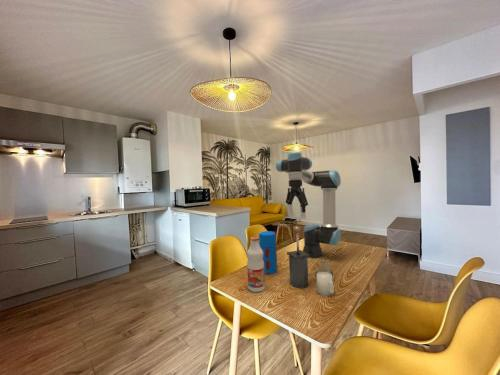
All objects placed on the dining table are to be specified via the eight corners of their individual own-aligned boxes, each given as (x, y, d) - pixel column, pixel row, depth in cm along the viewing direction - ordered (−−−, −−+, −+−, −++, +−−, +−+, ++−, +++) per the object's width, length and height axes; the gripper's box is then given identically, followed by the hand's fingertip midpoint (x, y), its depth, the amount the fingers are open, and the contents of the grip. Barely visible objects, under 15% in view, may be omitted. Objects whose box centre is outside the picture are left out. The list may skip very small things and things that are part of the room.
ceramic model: (333, 284, 114) (332, 266, 114) (312, 280, 120) (311, 263, 120) (336, 274, 127) (335, 258, 126) (317, 271, 132) (316, 255, 132)
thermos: (276, 275, 129) (274, 235, 128) (259, 274, 131) (257, 235, 130) (277, 268, 140) (276, 231, 139) (261, 267, 142) (260, 231, 141)
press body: (299, 276, 126) (298, 248, 126) (312, 285, 114) (311, 255, 114) (285, 279, 123) (284, 251, 122) (296, 289, 111) (295, 258, 110)
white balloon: (326, 287, 112) (325, 270, 112) (339, 296, 103) (338, 278, 103) (314, 289, 110) (313, 273, 110) (326, 299, 100) (326, 281, 100)
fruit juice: (268, 287, 114) (266, 237, 113) (256, 294, 108) (254, 241, 107) (256, 282, 121) (254, 234, 120) (244, 288, 115) (242, 238, 114)
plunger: (300, 255, 122) (299, 224, 122) (308, 259, 115) (307, 227, 114) (288, 257, 119) (287, 226, 119) (296, 261, 112) (294, 229, 112)
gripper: (279, 180, 129) (280, 214, 129) (301, 178, 105) (302, 220, 105) (290, 180, 131) (291, 213, 131) (314, 178, 107) (315, 219, 107)
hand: (296, 216), depth 118 cm, fingers open, 13 cm apart
